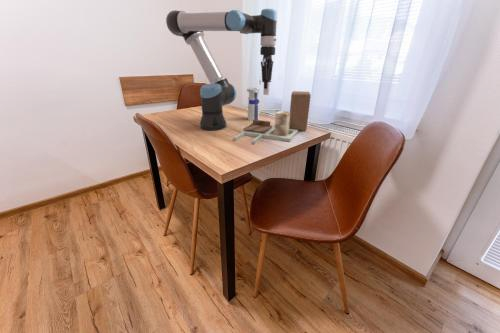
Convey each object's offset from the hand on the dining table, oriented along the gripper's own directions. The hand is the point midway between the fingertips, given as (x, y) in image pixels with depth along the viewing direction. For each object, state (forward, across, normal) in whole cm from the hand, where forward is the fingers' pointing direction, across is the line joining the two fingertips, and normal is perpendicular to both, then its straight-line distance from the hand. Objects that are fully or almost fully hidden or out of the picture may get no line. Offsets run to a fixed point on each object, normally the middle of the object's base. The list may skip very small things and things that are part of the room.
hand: (266, 94), depth 122 cm
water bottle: (+19, +14, +14) cm, 27 cm away
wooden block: (+19, +5, -18) cm, 27 cm away
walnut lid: (+17, -11, 0) cm, 20 cm away
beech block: (+18, -11, -14) cm, 25 cm away
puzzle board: (+18, -16, -7) cm, 25 cm away
